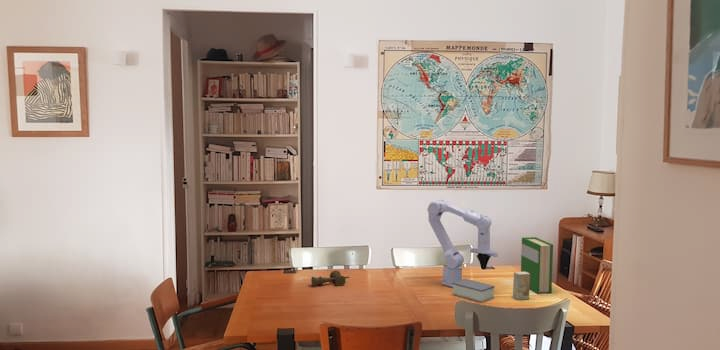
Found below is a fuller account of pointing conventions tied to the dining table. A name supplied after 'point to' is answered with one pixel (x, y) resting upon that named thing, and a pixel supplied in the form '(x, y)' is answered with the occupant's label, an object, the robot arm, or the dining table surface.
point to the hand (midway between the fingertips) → (483, 269)
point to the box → (473, 293)
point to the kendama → (330, 279)
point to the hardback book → (537, 263)
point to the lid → (473, 285)
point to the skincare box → (521, 285)
